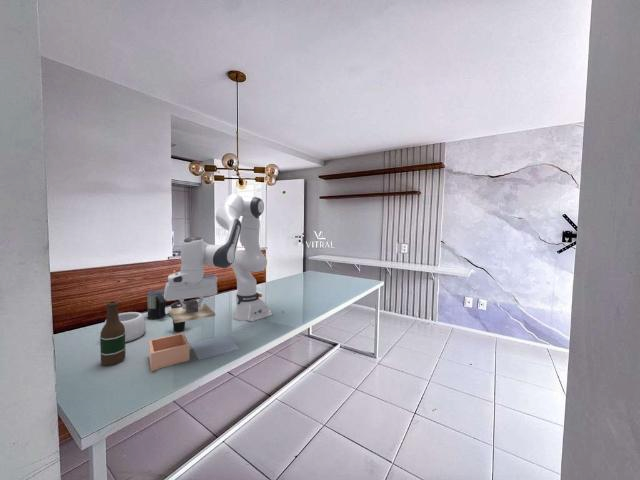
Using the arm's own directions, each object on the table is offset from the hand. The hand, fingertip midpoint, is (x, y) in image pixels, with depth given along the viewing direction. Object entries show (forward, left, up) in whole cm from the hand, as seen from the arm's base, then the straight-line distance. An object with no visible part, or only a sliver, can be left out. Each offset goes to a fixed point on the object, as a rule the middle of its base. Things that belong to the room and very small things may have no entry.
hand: (191, 307), depth 108 cm
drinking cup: (0, -29, -20) cm, 35 cm away
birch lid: (0, 0, -3) cm, 3 cm away
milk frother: (+4, -55, -20) cm, 59 cm away
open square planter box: (+8, -1, -20) cm, 22 cm away
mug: (+23, -32, -20) cm, 44 cm away
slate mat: (-10, -1, -20) cm, 22 cm away
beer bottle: (+26, -11, -20) cm, 35 cm away
